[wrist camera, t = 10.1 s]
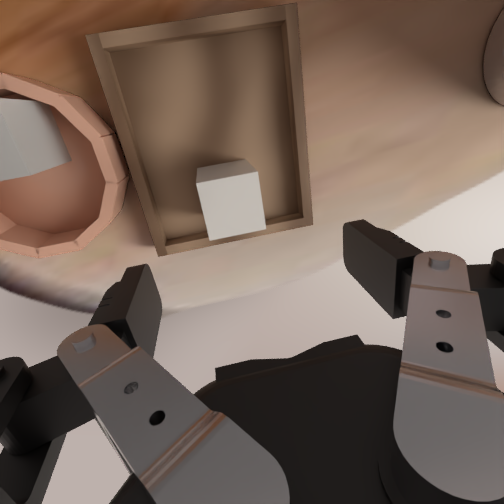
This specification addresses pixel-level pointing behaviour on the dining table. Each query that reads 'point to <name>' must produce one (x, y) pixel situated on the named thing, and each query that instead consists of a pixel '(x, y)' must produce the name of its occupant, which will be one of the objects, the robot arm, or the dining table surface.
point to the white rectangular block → (230, 199)
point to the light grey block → (29, 139)
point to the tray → (209, 115)
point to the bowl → (63, 179)
